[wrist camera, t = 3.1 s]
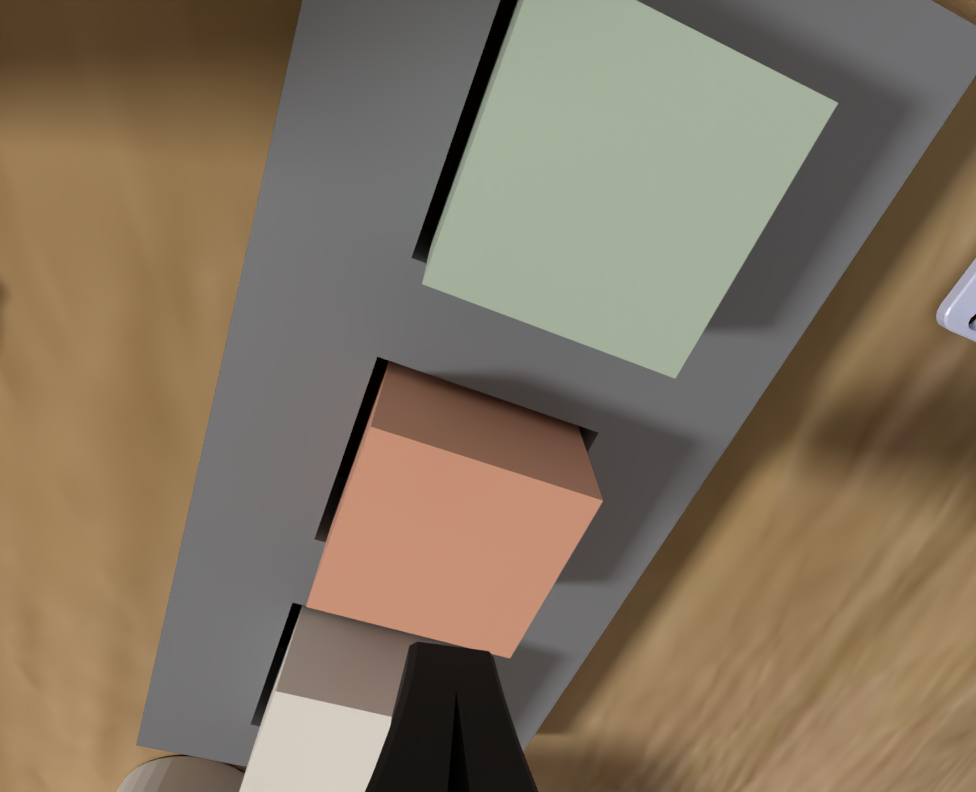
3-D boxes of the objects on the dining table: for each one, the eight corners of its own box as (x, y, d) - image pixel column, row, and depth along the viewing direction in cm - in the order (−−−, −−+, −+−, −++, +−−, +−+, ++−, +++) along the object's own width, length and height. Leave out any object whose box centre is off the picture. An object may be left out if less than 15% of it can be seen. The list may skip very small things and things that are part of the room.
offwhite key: (465, 614, 19) (465, 733, 16) (415, 711, 21) (405, 835, 18) (312, 574, 18) (275, 690, 15) (275, 679, 20) (234, 804, 17)
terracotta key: (572, 409, 16) (603, 500, 12) (501, 546, 18) (510, 658, 15) (393, 347, 15) (371, 426, 12) (339, 499, 17) (306, 606, 14)
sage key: (734, 99, 13) (838, 103, 9) (624, 309, 15) (675, 378, 11) (518, -6, 12) (541, -48, 8) (432, 234, 14) (421, 283, 10)
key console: (896, 49, 14) (999, 39, 11) (480, 733, 24) (482, 813, 22) (394, -223, 11) (372, -319, 9) (176, 665, 22) (136, 745, 19)
